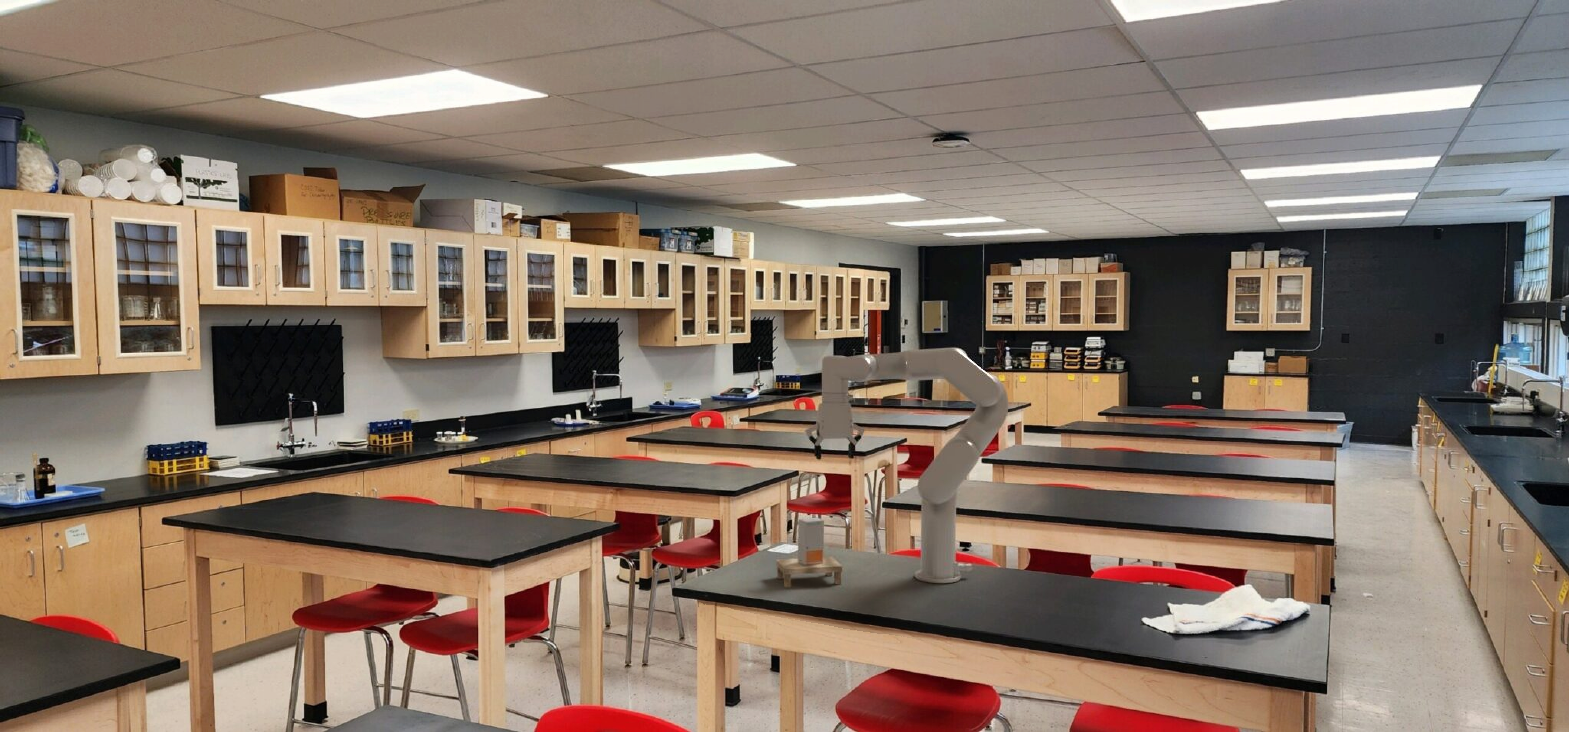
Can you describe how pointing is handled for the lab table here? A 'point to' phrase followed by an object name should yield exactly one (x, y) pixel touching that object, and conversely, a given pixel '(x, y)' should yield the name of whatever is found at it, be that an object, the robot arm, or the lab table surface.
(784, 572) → the birch stool
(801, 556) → the skincare box
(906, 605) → the lab table surface
